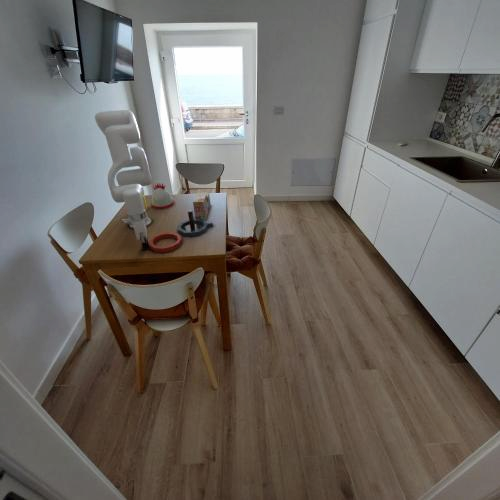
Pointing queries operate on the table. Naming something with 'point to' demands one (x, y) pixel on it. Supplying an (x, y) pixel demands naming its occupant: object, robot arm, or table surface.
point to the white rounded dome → (161, 197)
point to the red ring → (166, 248)
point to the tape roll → (145, 203)
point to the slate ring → (194, 233)
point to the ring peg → (192, 223)
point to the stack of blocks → (201, 205)
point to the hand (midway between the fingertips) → (146, 247)
